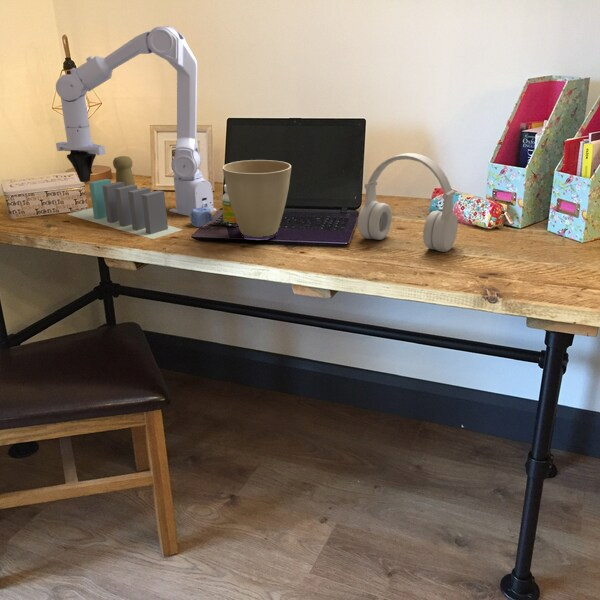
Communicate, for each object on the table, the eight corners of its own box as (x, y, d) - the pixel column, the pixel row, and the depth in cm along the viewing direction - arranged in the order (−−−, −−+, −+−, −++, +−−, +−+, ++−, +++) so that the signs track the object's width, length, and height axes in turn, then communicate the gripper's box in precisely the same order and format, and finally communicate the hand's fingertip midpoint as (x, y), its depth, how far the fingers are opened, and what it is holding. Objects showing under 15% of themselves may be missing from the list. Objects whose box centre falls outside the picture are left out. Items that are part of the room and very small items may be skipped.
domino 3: (141, 221, 161) (137, 185, 157) (124, 226, 157) (119, 189, 154) (136, 220, 162) (132, 184, 158) (119, 225, 158) (114, 188, 155)
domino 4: (154, 225, 158) (150, 188, 154) (137, 230, 154) (132, 192, 151) (149, 224, 159) (145, 187, 155) (132, 229, 155) (128, 191, 152)
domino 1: (115, 214, 167) (110, 179, 163) (98, 219, 163) (93, 183, 160) (111, 213, 168) (106, 178, 164) (94, 218, 164) (89, 182, 161)
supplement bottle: (220, 227, 156) (217, 187, 152) (228, 221, 161) (225, 181, 157) (242, 229, 155) (240, 188, 151) (249, 222, 160) (247, 182, 156)
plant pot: (279, 249, 140) (277, 175, 134) (215, 243, 145) (210, 171, 139) (301, 229, 153) (300, 160, 147) (242, 224, 158) (239, 157, 152)
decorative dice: (199, 229, 155) (197, 212, 154) (190, 225, 158) (189, 209, 157) (213, 226, 158) (212, 209, 156) (205, 222, 161) (203, 206, 159)
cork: (131, 192, 190) (127, 153, 186) (141, 196, 186) (137, 156, 181) (112, 195, 186) (106, 156, 182) (121, 199, 182) (116, 159, 178)
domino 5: (168, 229, 155) (164, 191, 151) (150, 234, 151) (146, 195, 148) (163, 227, 156) (159, 190, 152) (146, 233, 152) (141, 194, 149)
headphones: (355, 242, 144) (357, 153, 137) (373, 232, 151) (376, 146, 143) (442, 257, 134) (448, 162, 127) (457, 246, 141) (464, 155, 133)
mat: (183, 230, 154) (183, 229, 154) (152, 240, 148) (152, 239, 148) (97, 207, 175) (97, 206, 175) (66, 215, 169) (66, 214, 168)
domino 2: (128, 218, 164) (124, 182, 160) (111, 223, 160) (106, 186, 157) (124, 217, 165) (119, 181, 161) (107, 222, 161) (102, 185, 158)
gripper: (111, 125, 161) (117, 180, 166) (68, 122, 168) (76, 175, 173) (89, 129, 155) (97, 186, 161) (46, 126, 162) (55, 181, 167)
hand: (85, 181), depth 166 cm, fingers closed
